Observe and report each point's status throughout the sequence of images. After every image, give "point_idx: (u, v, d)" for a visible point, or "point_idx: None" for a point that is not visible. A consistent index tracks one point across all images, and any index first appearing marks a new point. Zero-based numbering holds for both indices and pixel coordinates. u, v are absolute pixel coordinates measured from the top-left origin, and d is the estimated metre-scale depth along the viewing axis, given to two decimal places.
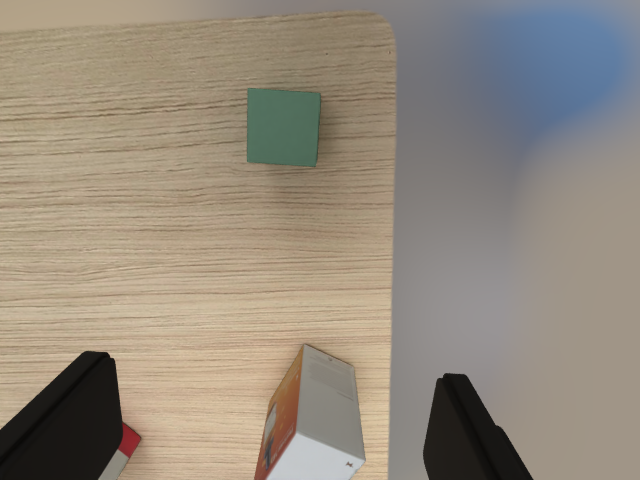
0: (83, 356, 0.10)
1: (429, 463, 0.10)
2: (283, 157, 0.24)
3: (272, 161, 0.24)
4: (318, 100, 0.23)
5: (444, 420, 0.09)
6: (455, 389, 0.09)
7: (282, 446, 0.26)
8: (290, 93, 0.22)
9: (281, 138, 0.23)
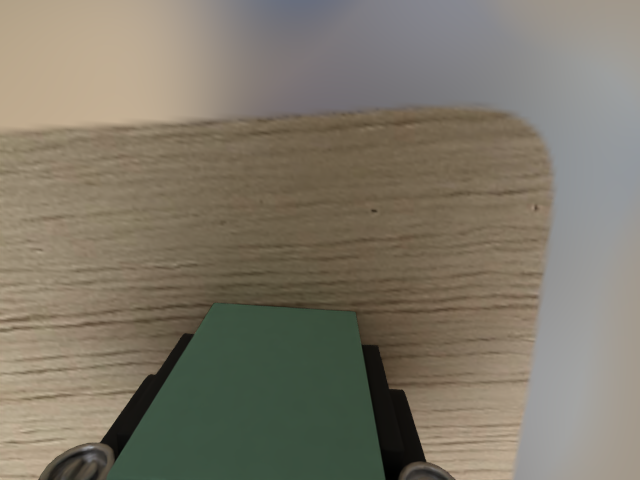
0: (185, 337, 0.11)
1: None
2: None
3: None
4: None
5: None
6: (364, 357, 0.10)
7: None
8: None
9: None
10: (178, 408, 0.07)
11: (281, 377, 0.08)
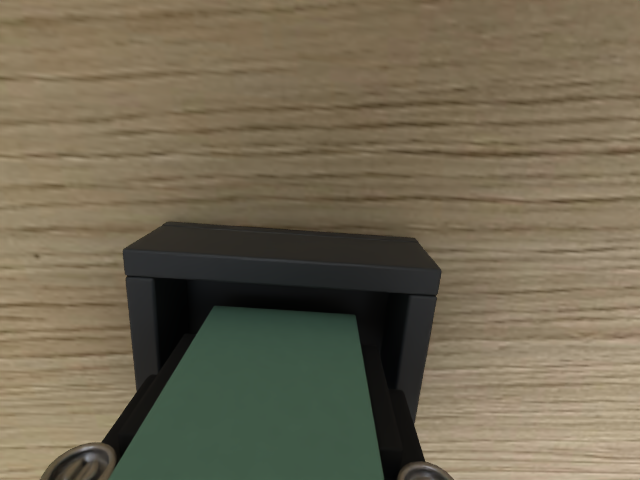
0: (186, 337, 0.11)
1: None
2: None
3: None
4: None
5: None
6: (363, 357, 0.10)
7: None
8: None
9: None
10: (178, 412, 0.07)
11: (281, 381, 0.08)
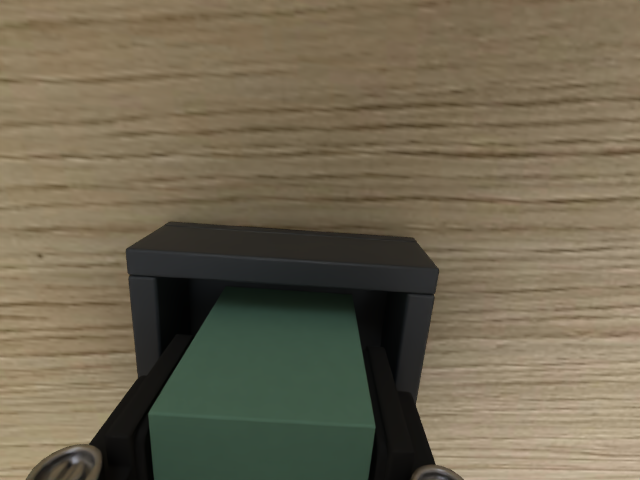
0: (177, 338, 0.11)
1: None
2: None
3: None
4: (368, 442, 0.07)
5: None
6: (370, 358, 0.10)
7: None
8: (283, 426, 0.07)
9: None
10: (201, 366, 0.09)
11: (287, 345, 0.10)
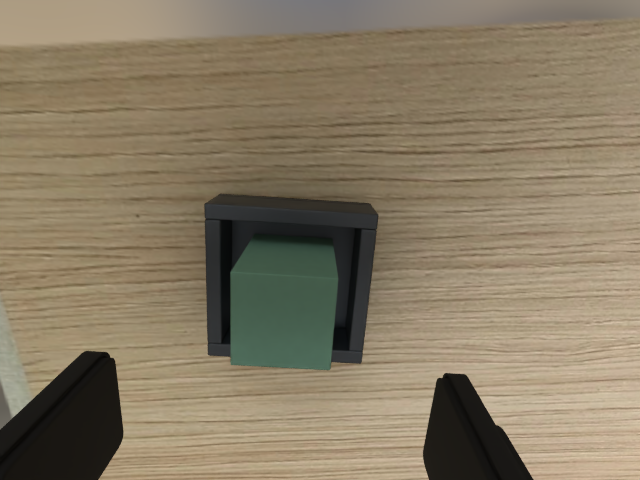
0: (83, 356, 0.10)
1: (429, 463, 0.10)
2: (283, 359, 0.16)
3: (267, 364, 0.16)
4: (335, 287, 0.15)
5: (444, 420, 0.09)
6: (455, 389, 0.09)
7: None
8: (294, 278, 0.15)
9: (280, 335, 0.16)
10: (250, 260, 0.16)
11: (294, 255, 0.18)
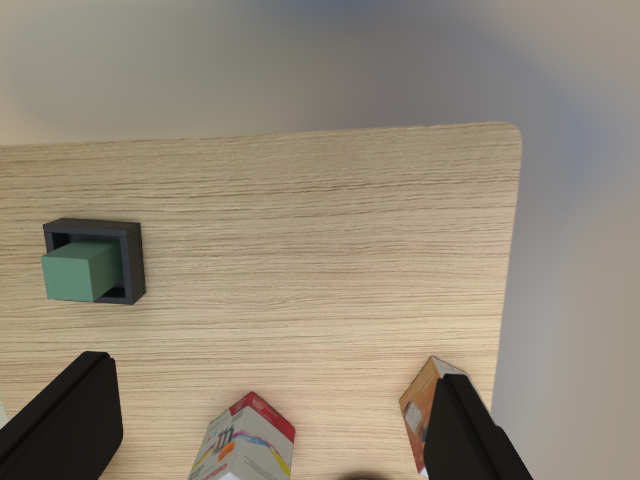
0: (83, 356, 0.10)
1: (429, 463, 0.10)
2: (71, 296, 0.36)
3: (64, 298, 0.36)
4: (87, 263, 0.35)
5: (444, 420, 0.09)
6: (455, 389, 0.09)
7: None
8: (68, 259, 0.35)
9: (67, 285, 0.35)
10: (57, 251, 0.36)
11: (83, 249, 0.37)
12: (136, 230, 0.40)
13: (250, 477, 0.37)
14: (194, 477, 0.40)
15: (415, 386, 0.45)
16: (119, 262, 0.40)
